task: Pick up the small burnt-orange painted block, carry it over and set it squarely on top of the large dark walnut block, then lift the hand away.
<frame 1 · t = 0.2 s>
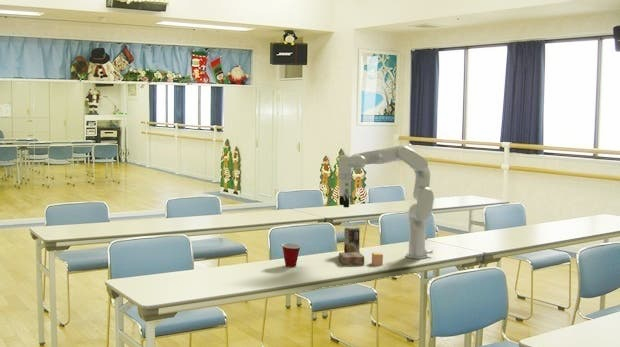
hand: (344, 206, 391), 31 cm above the table, tool pointing down, fingers open, 9 cm apart
walnut block: (351, 263, 384), on the table
coffee box: (351, 255, 402), on the table
plastic cup: (291, 266, 373), on the table
orange block: (377, 264, 382), on the table
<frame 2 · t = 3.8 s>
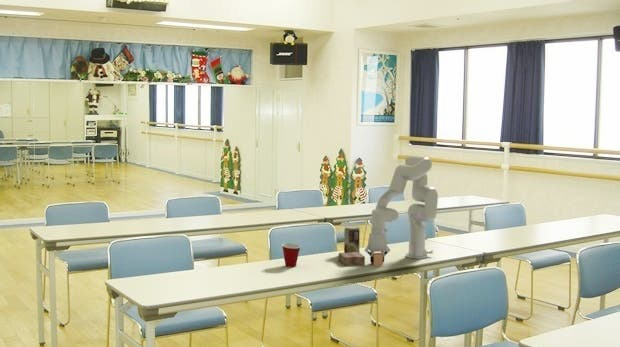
hand: (377, 262, 382), 1 cm above the table, tool pointing down, fingers closed on orange block, 5 cm apart
orange block: (377, 263, 382), on the table, touching gripper
everything else where it was.
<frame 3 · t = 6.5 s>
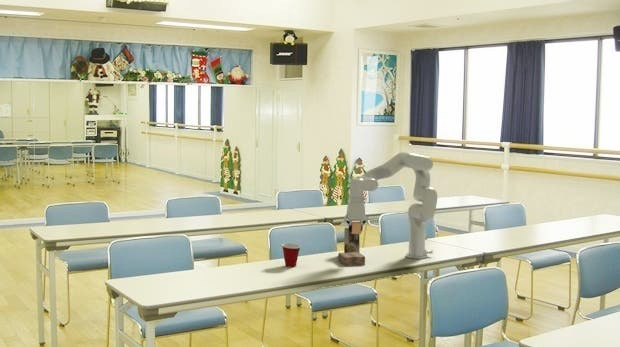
hand: (355, 231, 381), 18 cm above the table, tool pointing down, fingers closed on orange block, 4 cm apart
orange block: (355, 232, 381), point 17 cm above the table, touching gripper
everything else where it was.
when the fingers open (7 cm above the table, at t = 9.4 s): orange block drops 2 cm, point 5 cm above the table.
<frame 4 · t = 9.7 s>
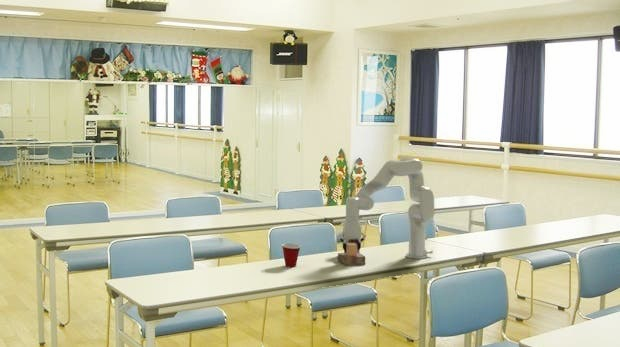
hand: (351, 249, 383), 8 cm above the table, tool pointing down, fingers open, 7 cm apart
orange block: (351, 254, 383), point 5 cm above the table
everything else where it was.
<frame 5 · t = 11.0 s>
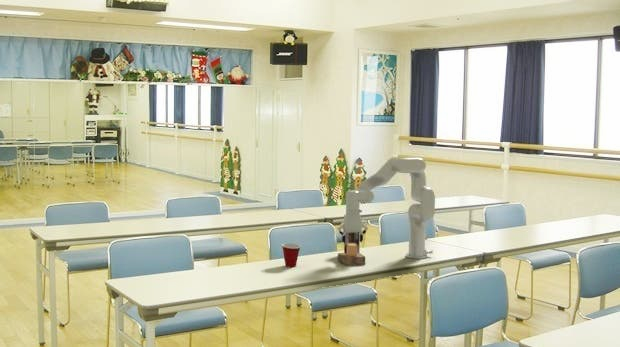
hand: (352, 242, 383), 12 cm above the table, tool pointing down, fingers open, 9 cm apart
walnut block: (351, 263, 384), on the table, touching orange block
orange block: (351, 254, 383), point 5 cm above the table, touching walnut block
everything else where it was.
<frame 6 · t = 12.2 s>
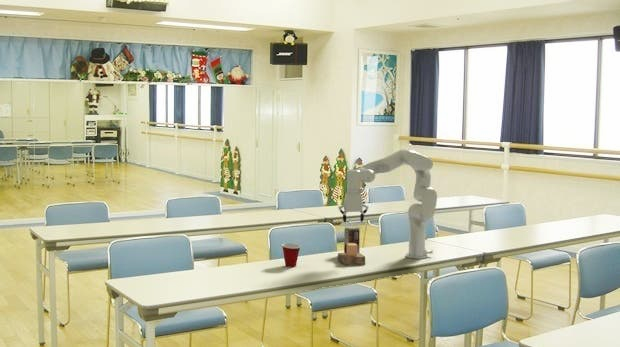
hand: (353, 221, 382), 23 cm above the table, tool pointing down, fingers open, 9 cm apart
nothing on the table moved.
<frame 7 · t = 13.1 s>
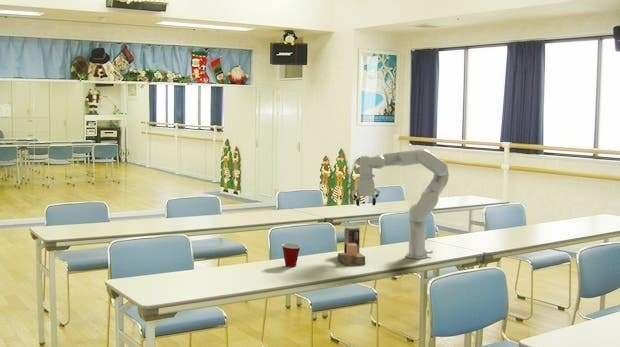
hand: (365, 205, 401), 30 cm above the table, tool pointing down, fingers open, 9 cm apart
walnut block: (351, 263, 384), on the table
orange block: (351, 254, 383), point 5 cm above the table
everything else where it was.
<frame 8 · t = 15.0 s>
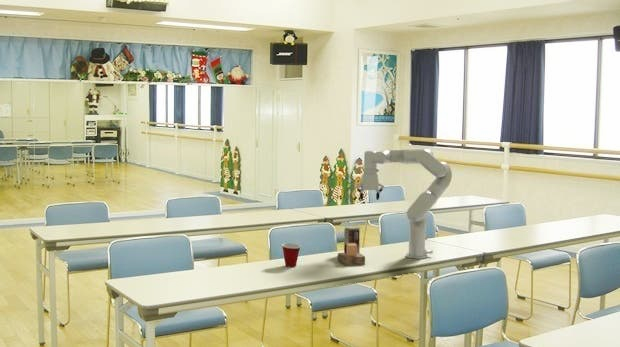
hand: (369, 199, 408), 32 cm above the table, tool pointing down, fingers open, 9 cm apart
walnut block: (351, 263, 384), on the table, touching orange block
orange block: (351, 254, 383), point 5 cm above the table, touching walnut block
everything else where it was.
at the end: orange block 0.2 cm off-centre on the walnut block, point 5.0 cm above the walnut block's base; orange block tilted 0°; the gripper is holding nothing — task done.
